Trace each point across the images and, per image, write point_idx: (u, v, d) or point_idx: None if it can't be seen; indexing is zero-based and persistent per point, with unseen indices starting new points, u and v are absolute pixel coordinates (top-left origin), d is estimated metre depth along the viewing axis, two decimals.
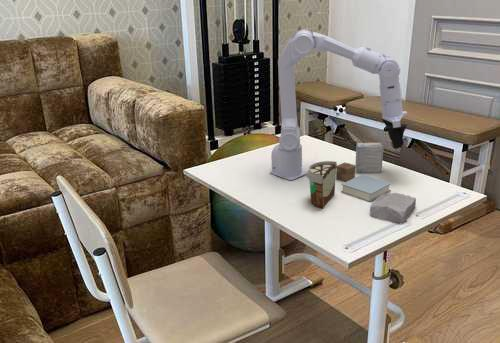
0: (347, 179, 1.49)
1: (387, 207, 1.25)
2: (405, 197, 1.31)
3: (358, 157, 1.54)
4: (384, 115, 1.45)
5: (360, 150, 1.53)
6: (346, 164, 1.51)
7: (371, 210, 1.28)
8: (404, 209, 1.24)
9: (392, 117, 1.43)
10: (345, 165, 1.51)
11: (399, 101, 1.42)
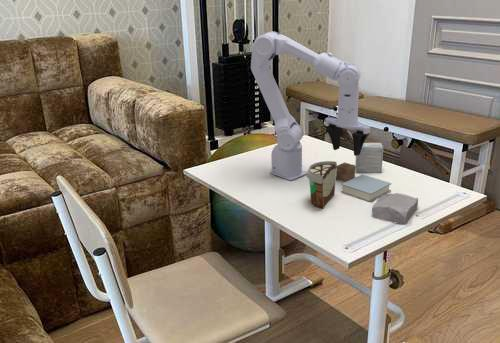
0: (347, 179, 1.49)
1: (389, 208, 1.25)
2: (407, 198, 1.31)
3: (358, 157, 1.54)
4: (345, 123, 1.43)
5: None
6: (346, 164, 1.51)
7: (373, 211, 1.28)
8: (406, 210, 1.24)
9: (354, 125, 1.43)
10: (345, 165, 1.51)
11: (357, 108, 1.44)
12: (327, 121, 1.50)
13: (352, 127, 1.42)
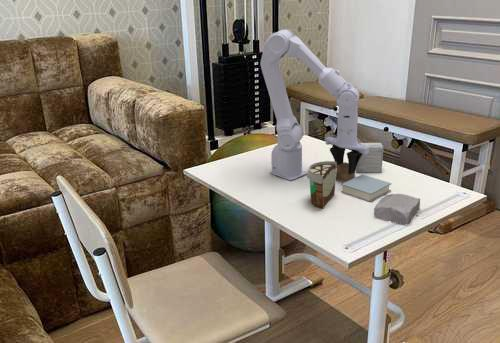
0: (347, 179, 1.49)
1: (391, 208, 1.25)
2: (409, 198, 1.30)
3: None
4: (345, 144, 1.45)
5: None
6: (346, 164, 1.51)
7: (375, 211, 1.28)
8: (408, 210, 1.24)
9: (353, 145, 1.45)
10: (345, 165, 1.51)
11: None
12: (327, 140, 1.52)
13: (351, 147, 1.44)
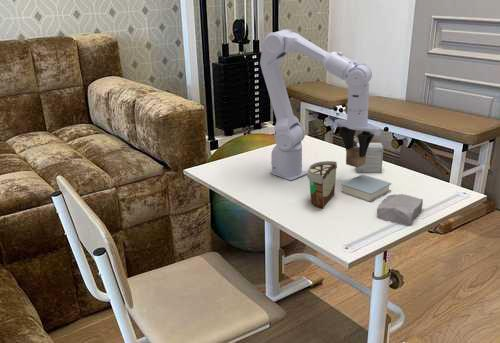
0: (358, 163, 1.43)
1: (394, 209, 1.25)
2: (412, 198, 1.30)
3: None
4: (355, 125, 1.38)
5: None
6: (356, 148, 1.45)
7: (378, 212, 1.27)
8: (411, 211, 1.23)
9: (364, 126, 1.39)
10: (355, 149, 1.44)
11: None
12: (336, 123, 1.45)
13: (362, 129, 1.38)
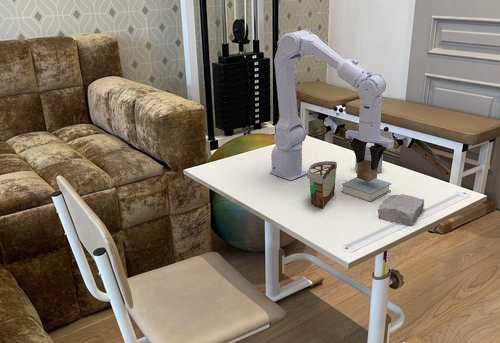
0: (369, 177, 1.39)
1: (396, 209, 1.24)
2: (413, 199, 1.30)
3: None
4: (367, 137, 1.34)
5: None
6: (368, 161, 1.41)
7: (379, 212, 1.27)
8: (413, 211, 1.23)
9: (377, 138, 1.34)
10: (366, 162, 1.40)
11: None
12: (347, 134, 1.41)
13: (374, 141, 1.33)
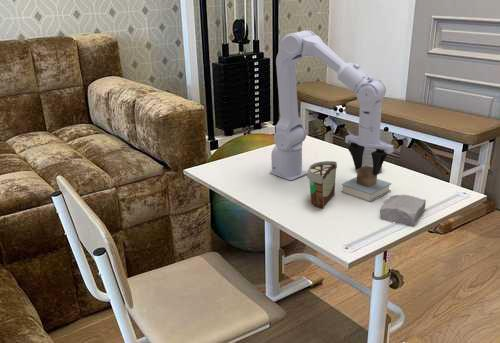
0: (369, 183, 1.39)
1: (397, 209, 1.24)
2: (415, 199, 1.30)
3: None
4: (367, 142, 1.35)
5: None
6: (367, 167, 1.41)
7: (381, 212, 1.27)
8: (415, 211, 1.23)
9: (376, 143, 1.35)
10: (366, 168, 1.41)
11: None
12: (346, 139, 1.41)
13: (374, 146, 1.34)
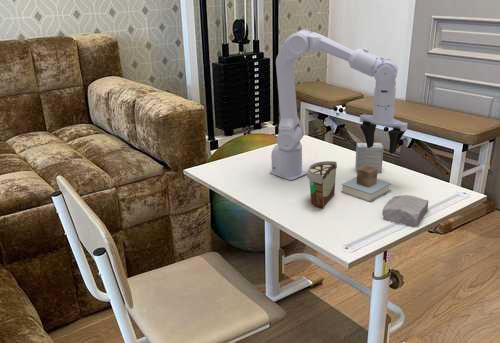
0: (369, 183, 1.39)
1: (400, 210, 1.24)
2: (418, 200, 1.29)
3: (358, 157, 1.54)
4: (382, 120, 1.39)
5: (360, 150, 1.53)
6: (367, 167, 1.41)
7: (384, 213, 1.26)
8: (418, 212, 1.22)
9: (391, 121, 1.39)
10: (366, 168, 1.41)
11: None
12: (361, 118, 1.46)
13: (389, 124, 1.38)
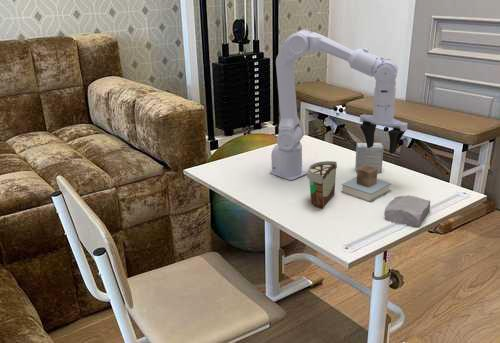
0: (369, 183, 1.39)
1: (402, 210, 1.23)
2: (420, 200, 1.29)
3: (358, 157, 1.54)
4: (382, 120, 1.39)
5: (360, 150, 1.53)
6: (367, 167, 1.41)
7: (386, 213, 1.26)
8: (420, 212, 1.22)
9: (391, 121, 1.39)
10: (366, 168, 1.41)
11: None
12: (361, 118, 1.46)
13: (389, 124, 1.38)
